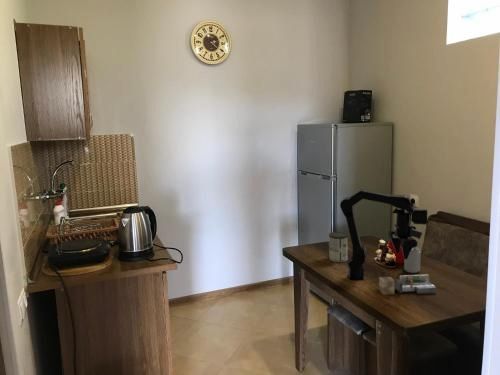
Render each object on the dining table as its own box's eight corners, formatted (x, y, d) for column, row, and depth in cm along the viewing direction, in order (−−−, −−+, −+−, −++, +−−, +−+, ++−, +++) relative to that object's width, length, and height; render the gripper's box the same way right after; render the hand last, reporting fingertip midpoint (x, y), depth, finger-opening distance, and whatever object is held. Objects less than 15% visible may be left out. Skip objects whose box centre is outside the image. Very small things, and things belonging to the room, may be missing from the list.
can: (421, 273, 200) (422, 250, 198) (405, 273, 201) (405, 249, 199) (418, 268, 207) (419, 245, 205) (402, 268, 208) (403, 245, 206)
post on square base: (399, 293, 178) (399, 283, 177) (395, 288, 183) (395, 278, 182) (436, 291, 178) (436, 281, 177) (431, 287, 183) (431, 277, 182)
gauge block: (382, 294, 178) (383, 281, 177) (379, 290, 183) (379, 277, 182) (394, 294, 178) (394, 281, 177) (390, 289, 183) (390, 276, 182)
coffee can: (332, 254, 232) (332, 231, 230) (350, 257, 227) (350, 233, 225) (326, 260, 224) (325, 235, 222) (344, 263, 218) (344, 237, 216)
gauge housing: (407, 294, 177) (407, 283, 176) (399, 285, 186) (399, 275, 185) (437, 292, 177) (437, 282, 176) (427, 284, 186) (428, 274, 185)
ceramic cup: (410, 255, 226) (410, 238, 225) (415, 266, 210) (415, 247, 209) (385, 254, 229) (386, 237, 228) (388, 265, 213) (389, 246, 212)
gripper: (430, 227, 176) (428, 262, 179) (411, 217, 195) (409, 249, 197) (404, 228, 176) (403, 263, 178) (388, 218, 194) (387, 249, 197)
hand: (401, 255), depth 188 cm, fingers open, 9 cm apart
